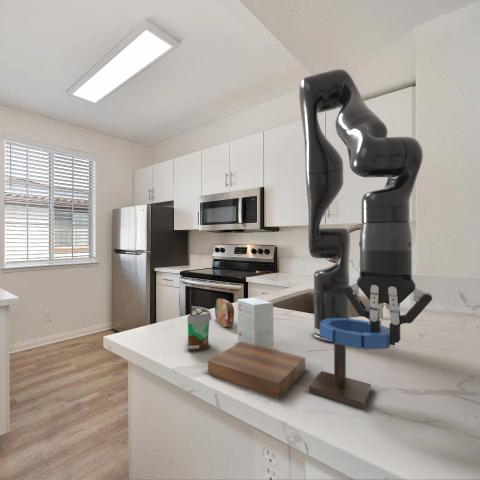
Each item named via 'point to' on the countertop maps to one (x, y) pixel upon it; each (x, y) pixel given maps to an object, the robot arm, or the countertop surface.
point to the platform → (258, 368)
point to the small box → (255, 322)
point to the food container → (198, 328)
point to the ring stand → (340, 383)
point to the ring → (354, 333)
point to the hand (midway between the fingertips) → (384, 342)
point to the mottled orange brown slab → (224, 312)
